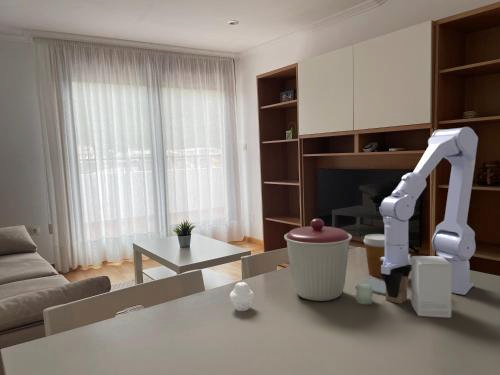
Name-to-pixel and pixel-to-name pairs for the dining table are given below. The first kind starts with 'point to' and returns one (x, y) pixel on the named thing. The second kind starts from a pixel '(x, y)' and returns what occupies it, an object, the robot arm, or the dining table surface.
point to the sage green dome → (364, 294)
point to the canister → (318, 260)
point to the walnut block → (400, 292)
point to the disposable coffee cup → (374, 252)
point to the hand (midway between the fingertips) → (396, 294)
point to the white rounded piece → (241, 296)
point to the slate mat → (376, 286)
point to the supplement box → (431, 286)
